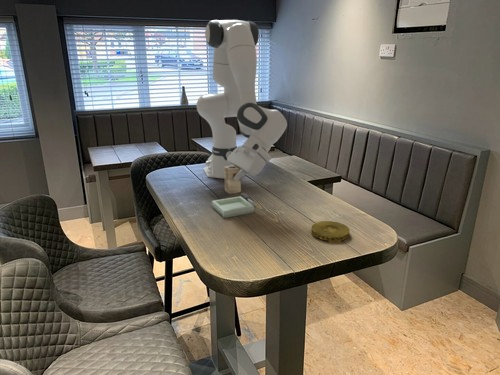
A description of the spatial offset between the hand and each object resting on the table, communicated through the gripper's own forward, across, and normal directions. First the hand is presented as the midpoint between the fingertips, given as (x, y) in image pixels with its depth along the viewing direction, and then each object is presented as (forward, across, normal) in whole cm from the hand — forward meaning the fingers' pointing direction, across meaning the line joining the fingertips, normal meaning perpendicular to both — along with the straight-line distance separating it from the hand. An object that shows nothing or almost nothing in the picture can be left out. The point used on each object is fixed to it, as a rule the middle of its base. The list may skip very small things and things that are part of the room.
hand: (230, 177), depth 137 cm
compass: (-5, +33, +24) cm, 41 cm away
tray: (+8, 0, +9) cm, 13 cm away
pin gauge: (+2, -6, +16) cm, 17 cm away
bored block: (+3, 0, +4) cm, 5 cm away
